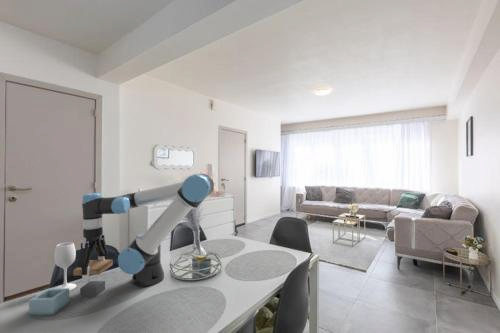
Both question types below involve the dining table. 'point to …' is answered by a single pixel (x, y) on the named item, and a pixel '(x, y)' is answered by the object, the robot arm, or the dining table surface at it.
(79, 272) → the lid
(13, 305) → the dining table surface
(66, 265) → the wineglass
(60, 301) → the dish
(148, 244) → the robot arm
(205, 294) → the dining table surface
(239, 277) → the dining table surface
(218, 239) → the dining table surface
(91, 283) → the gray square block
